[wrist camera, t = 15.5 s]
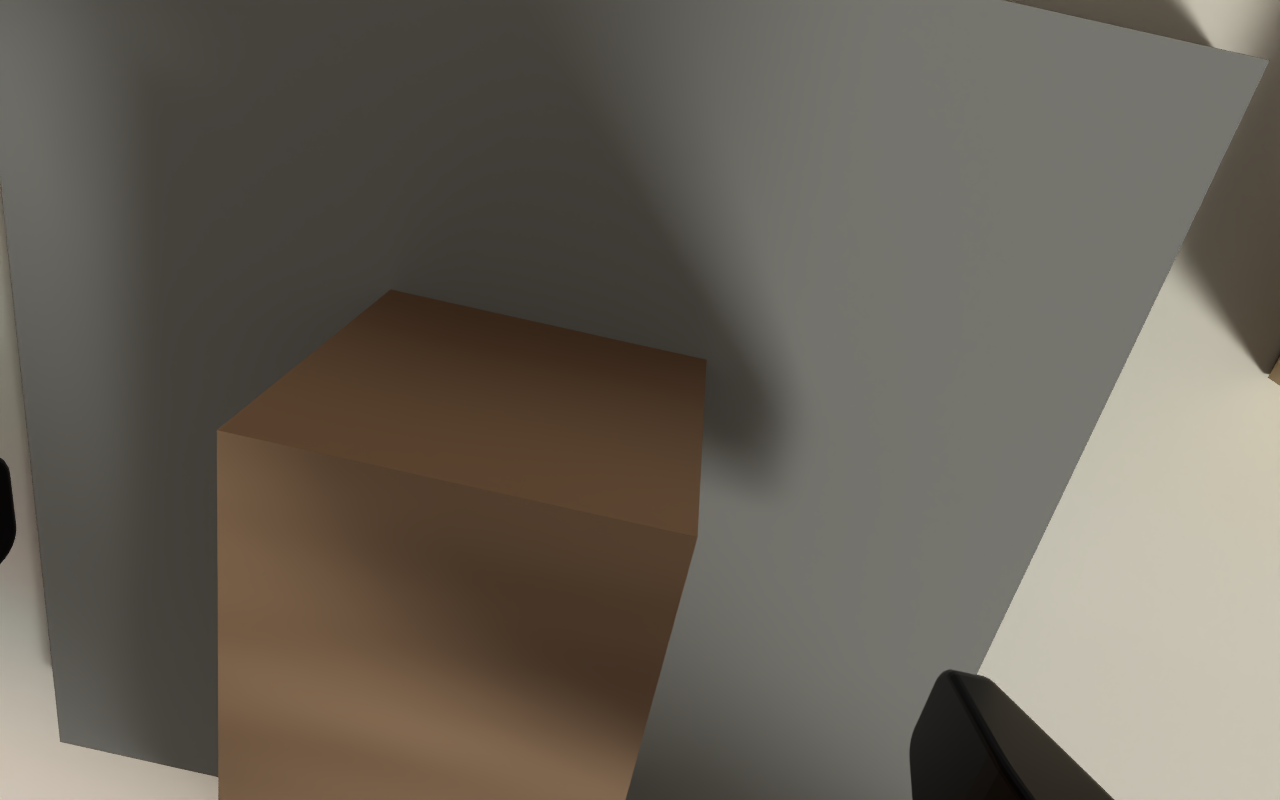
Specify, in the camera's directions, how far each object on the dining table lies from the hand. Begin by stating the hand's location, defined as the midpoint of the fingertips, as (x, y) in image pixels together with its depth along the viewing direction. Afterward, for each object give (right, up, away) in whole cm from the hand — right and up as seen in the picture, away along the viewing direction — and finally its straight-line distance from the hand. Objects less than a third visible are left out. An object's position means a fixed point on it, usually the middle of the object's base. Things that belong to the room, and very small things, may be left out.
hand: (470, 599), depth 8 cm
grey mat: (0, +1, +3) cm, 3 cm away
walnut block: (0, -2, +2) cm, 3 cm away
